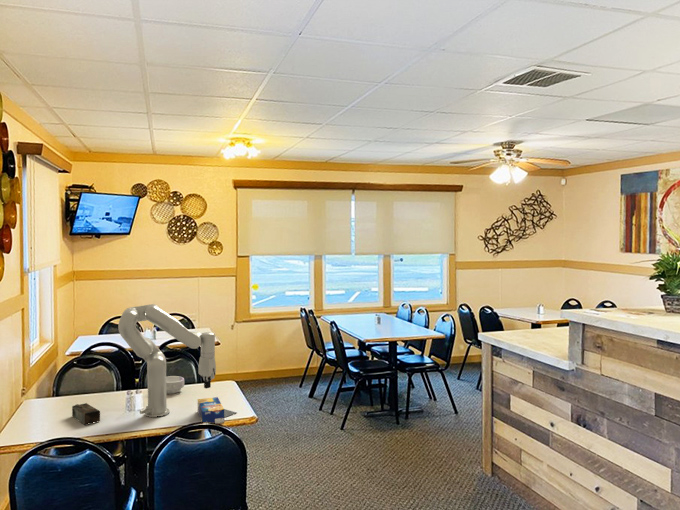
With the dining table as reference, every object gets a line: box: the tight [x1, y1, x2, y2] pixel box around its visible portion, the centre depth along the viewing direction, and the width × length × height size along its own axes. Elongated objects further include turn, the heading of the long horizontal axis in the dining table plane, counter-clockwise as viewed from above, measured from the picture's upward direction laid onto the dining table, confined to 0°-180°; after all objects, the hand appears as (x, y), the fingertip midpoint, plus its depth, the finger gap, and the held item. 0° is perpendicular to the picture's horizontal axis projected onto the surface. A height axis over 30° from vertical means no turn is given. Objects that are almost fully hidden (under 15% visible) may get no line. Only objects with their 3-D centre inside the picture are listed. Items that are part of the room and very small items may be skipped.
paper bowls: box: [166, 375, 185, 395], centre depth 330 cm, size 15×15×8 cm
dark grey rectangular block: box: [71, 402, 101, 425], centre depth 281 cm, size 8×19×7 cm, turn 44°
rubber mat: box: [224, 408, 237, 419], centre depth 289 cm, size 12×12×1 cm
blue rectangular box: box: [197, 396, 225, 424], centre depth 285 cm, size 7×11×22 cm
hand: (207, 387), depth 298 cm, fingers closed
